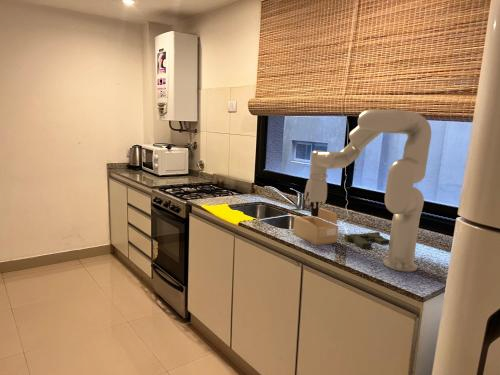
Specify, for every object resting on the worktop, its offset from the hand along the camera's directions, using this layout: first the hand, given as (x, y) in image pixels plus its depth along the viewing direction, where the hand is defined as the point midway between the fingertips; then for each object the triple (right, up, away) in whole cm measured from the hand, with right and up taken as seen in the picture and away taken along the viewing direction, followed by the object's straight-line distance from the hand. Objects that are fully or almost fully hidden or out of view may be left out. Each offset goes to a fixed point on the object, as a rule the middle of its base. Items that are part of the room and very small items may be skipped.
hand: (314, 215), depth 173 cm
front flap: (-6, -1, -3) cm, 7 cm away
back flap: (+5, 0, +3) cm, 6 cm away
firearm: (+27, -13, +3) cm, 30 cm away
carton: (0, -11, +2) cm, 11 cm away
